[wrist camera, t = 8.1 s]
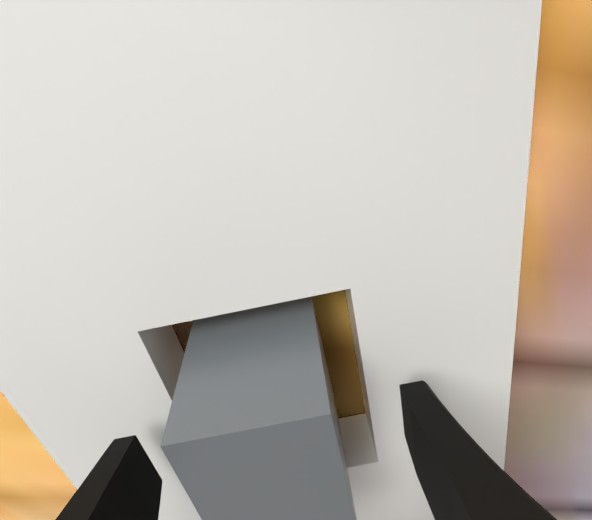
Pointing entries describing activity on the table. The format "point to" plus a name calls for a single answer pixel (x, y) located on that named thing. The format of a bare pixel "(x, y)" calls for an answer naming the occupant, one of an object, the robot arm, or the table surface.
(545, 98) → the table surface
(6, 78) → the base plate
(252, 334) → the block
